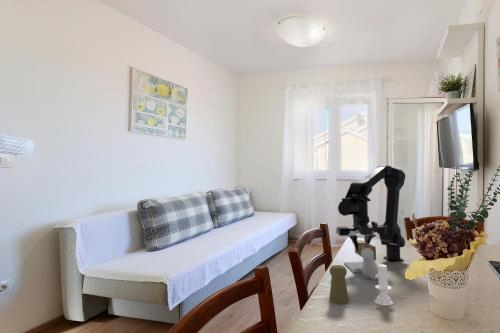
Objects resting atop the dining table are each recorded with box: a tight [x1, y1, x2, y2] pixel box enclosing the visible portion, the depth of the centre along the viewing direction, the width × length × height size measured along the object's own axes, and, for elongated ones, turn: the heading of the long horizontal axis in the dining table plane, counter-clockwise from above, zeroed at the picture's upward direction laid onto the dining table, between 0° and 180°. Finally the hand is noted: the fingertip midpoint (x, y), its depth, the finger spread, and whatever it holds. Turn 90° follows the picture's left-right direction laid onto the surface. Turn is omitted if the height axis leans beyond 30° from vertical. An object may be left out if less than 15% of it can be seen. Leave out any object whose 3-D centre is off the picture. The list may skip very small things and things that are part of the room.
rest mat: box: [343, 261, 363, 274], centre depth 149 cm, size 14×10×1 cm
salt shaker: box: [361, 248, 378, 279], centre depth 133 cm, size 6×6×13 cm
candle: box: [374, 263, 394, 307], centre depth 112 cm, size 5×5×12 cm
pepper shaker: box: [328, 264, 350, 305], centre depth 114 cm, size 6×6×11 cm
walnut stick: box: [354, 239, 377, 261], centre depth 143 cm, size 16×3×5 cm, turn 0°
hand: (361, 251), depth 147 cm, fingers closed on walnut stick, 3 cm apart
